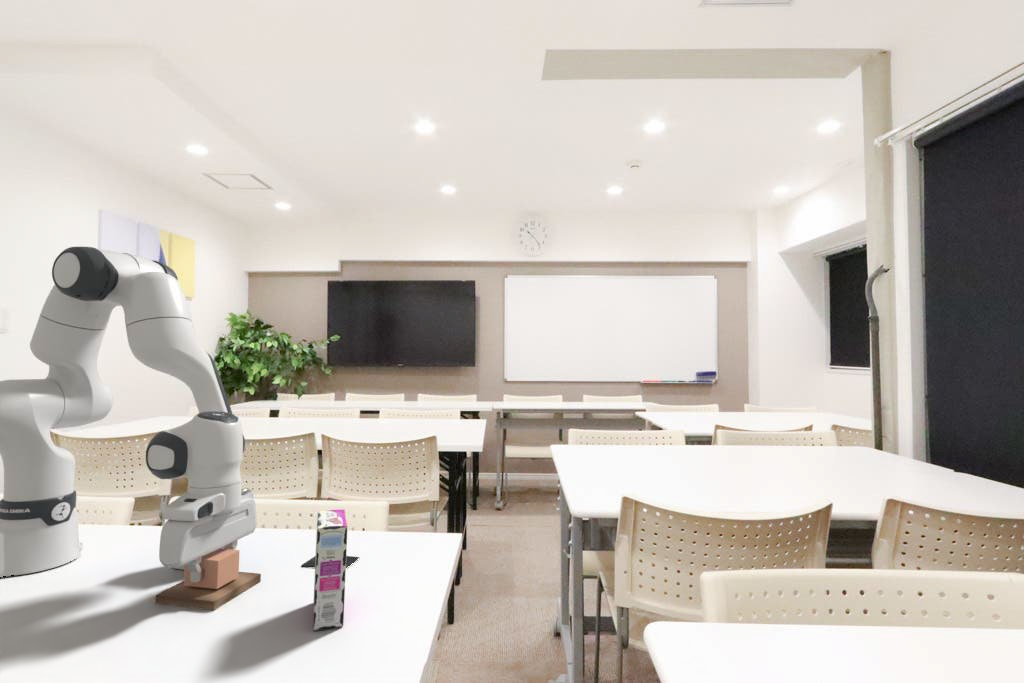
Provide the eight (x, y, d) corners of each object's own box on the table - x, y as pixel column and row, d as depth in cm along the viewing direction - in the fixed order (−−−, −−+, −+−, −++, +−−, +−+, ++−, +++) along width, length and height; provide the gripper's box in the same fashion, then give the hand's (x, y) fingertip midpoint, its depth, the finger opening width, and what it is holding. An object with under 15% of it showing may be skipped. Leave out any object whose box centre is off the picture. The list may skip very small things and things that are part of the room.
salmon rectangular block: (217, 589, 91) (218, 560, 91) (183, 585, 92) (185, 557, 93) (238, 576, 97) (239, 550, 97) (206, 573, 98) (207, 547, 98)
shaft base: (214, 610, 87) (215, 575, 88) (155, 603, 90) (156, 569, 90) (260, 581, 99) (261, 550, 100) (207, 576, 101) (208, 545, 102)
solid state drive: (344, 572, 105) (344, 569, 105) (300, 568, 107) (300, 565, 107) (359, 560, 112) (360, 557, 112) (318, 556, 114) (319, 553, 114)
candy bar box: (345, 627, 82) (348, 525, 83) (312, 632, 81) (315, 528, 81) (342, 597, 93) (345, 507, 94) (313, 601, 91) (316, 510, 92)
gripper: (239, 484, 106) (236, 551, 105) (153, 512, 86) (150, 595, 85) (266, 486, 105) (263, 554, 104) (185, 514, 85) (182, 598, 84)
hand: (211, 573), depth 95 cm, fingers closed on salmon rectangular block, 5 cm apart
